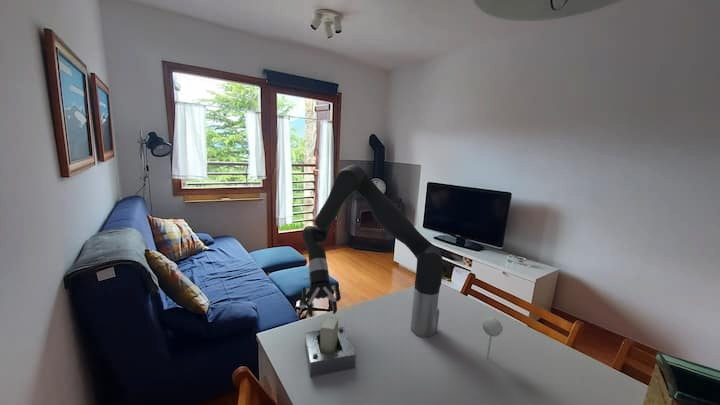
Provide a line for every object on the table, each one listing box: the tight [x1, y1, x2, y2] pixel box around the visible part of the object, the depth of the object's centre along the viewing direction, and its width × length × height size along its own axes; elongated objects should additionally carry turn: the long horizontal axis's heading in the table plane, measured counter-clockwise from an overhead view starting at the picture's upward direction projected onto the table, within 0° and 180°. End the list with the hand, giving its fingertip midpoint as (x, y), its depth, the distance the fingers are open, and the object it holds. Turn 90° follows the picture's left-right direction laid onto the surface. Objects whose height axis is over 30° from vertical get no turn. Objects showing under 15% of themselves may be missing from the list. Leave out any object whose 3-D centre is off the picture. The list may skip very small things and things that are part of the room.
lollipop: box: [481, 316, 504, 360], centre depth 93 cm, size 6×6×15 cm
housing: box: [304, 326, 357, 378], centre depth 91 cm, size 14×14×5 cm
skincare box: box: [319, 316, 339, 354], centre depth 90 cm, size 6×4×12 cm
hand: (323, 314), depth 101 cm, fingers open, 8 cm apart
